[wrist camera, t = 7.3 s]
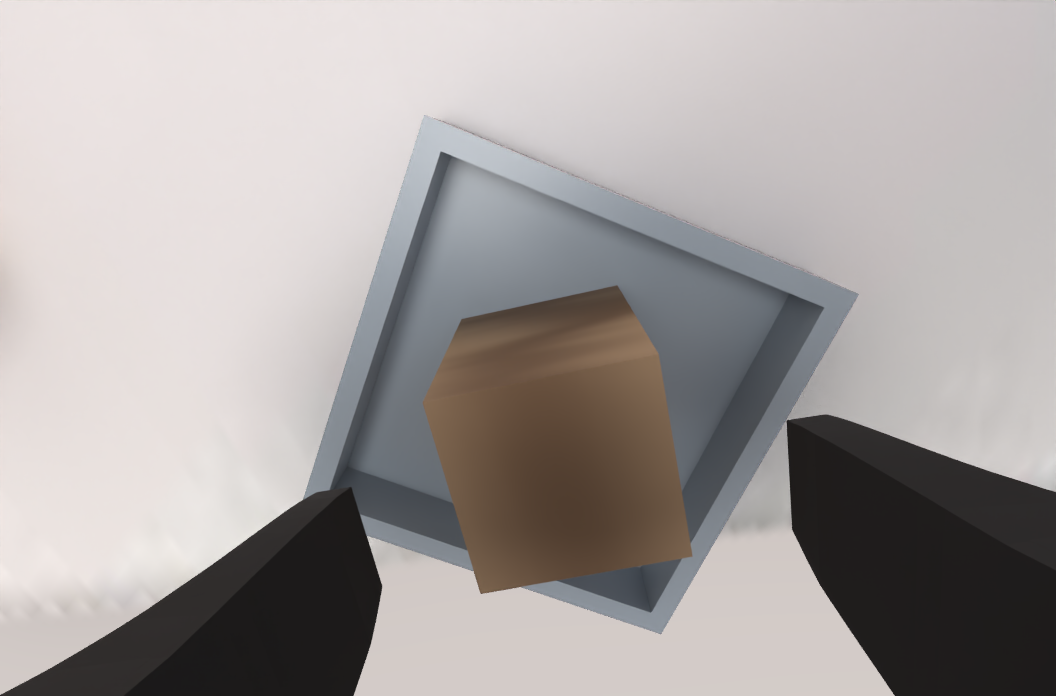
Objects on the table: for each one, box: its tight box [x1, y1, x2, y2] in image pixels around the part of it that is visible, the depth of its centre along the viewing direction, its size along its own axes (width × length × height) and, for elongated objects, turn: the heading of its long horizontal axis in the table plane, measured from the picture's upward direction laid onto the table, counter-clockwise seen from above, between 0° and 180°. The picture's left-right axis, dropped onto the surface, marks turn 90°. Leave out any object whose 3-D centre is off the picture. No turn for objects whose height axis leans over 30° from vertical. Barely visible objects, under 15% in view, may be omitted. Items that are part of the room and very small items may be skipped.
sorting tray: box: [303, 115, 859, 634], centre depth 17 cm, size 11×11×2 cm
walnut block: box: [423, 285, 693, 594], centre depth 15 cm, size 4×4×6 cm
